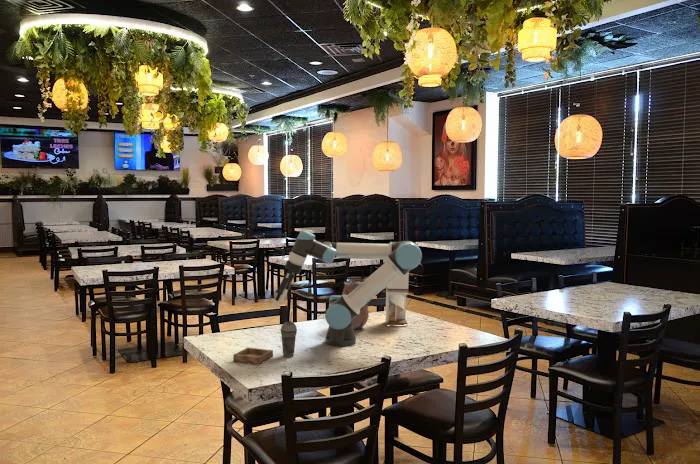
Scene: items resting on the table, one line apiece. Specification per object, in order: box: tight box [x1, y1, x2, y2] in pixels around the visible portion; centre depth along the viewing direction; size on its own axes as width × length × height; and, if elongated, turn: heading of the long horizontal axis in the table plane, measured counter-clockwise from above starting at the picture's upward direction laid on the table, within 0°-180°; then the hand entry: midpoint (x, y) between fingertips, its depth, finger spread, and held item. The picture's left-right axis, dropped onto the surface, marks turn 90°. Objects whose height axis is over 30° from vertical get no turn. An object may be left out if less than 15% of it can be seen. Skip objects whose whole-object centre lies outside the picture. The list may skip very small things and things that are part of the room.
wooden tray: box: [232, 347, 274, 366], centre depth 234 cm, size 12×12×3 cm
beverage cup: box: [280, 310, 298, 359], centre depth 239 cm, size 7×7×20 cm
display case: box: [385, 271, 410, 326], centre depth 306 cm, size 11×11×35 cm
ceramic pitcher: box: [340, 280, 370, 330], centre depth 295 cm, size 18×21×25 cm
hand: (277, 303), depth 253 cm, fingers open, 13 cm apart
